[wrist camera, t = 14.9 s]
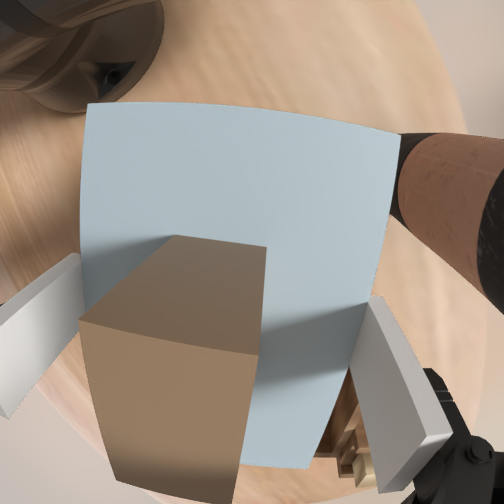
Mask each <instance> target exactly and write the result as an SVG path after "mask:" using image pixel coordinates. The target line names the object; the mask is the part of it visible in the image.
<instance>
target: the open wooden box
mask: <svg viewBox="0 0 504 504" xmlns="http://www.w3.org/2000/svg"><path fill="white" fill-rule="evenodd" d="M359 453H370V449H369V444H368V440H367V435H366V431H365V427H364V422H363V418H362V414H361V410H360V406H359V402H358V398H357V394H356V390H355V386H354V382H353V378H352V374H351V371H350V367H348V370H347V372H346V375H345V378H344V381H343V384H342V387H341V389H340V392H339V395H338V397H337V400H336V403H335V405H334V408H333V410H332V413H331V416H330V418H329V421H328V423H327V426H326V428H325V430H324V433H323V435H322V438H321V440H320V442H319V445H318V447H317V449H316V451H315V454H314V456H313V457H336V458H337V466H338V474H339V478H353V477H354V472H353V466H352V463H353V462H354V460H355V459H356V457H357V456H358V454H359Z"/></svg>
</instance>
